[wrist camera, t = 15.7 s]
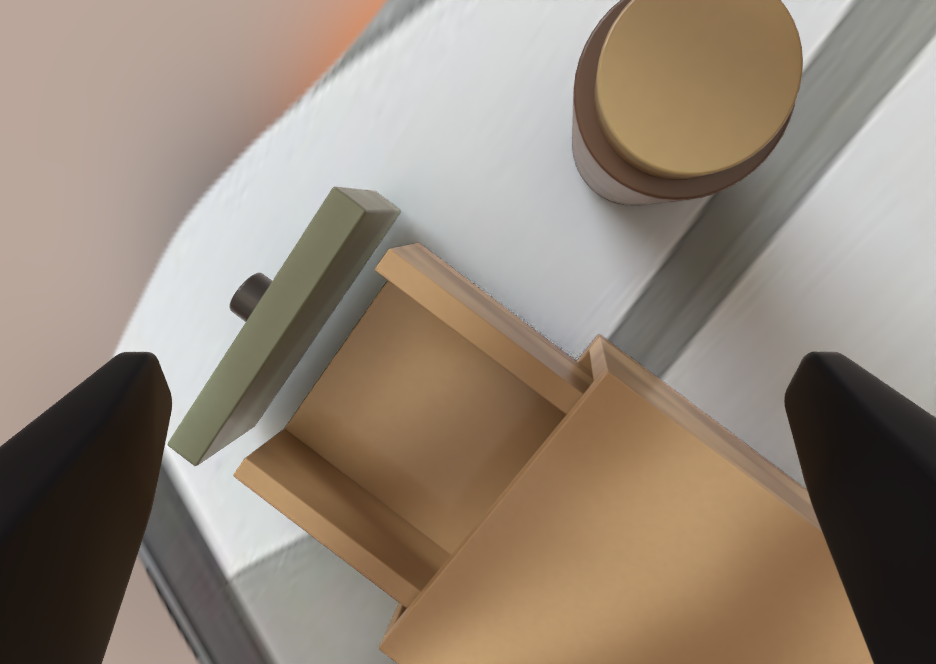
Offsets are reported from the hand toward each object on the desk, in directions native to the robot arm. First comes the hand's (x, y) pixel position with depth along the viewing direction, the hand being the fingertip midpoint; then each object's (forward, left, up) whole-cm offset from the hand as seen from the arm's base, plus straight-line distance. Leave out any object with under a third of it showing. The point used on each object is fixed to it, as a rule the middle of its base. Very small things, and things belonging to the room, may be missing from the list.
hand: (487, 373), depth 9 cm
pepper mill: (+5, -3, -14) cm, 15 cm away
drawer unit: (-10, -5, -14) cm, 18 cm away
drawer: (-5, +4, -14) cm, 15 cm away
